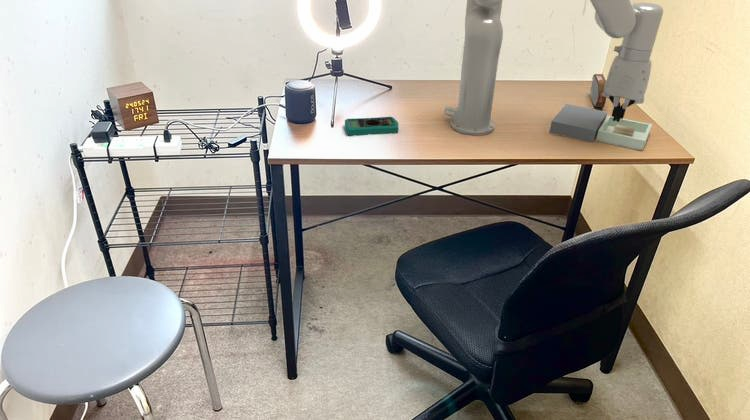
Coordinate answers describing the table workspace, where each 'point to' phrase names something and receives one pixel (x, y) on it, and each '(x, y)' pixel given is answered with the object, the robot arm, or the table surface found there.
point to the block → (624, 130)
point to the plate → (578, 122)
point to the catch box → (633, 142)
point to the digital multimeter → (371, 126)
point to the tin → (598, 90)
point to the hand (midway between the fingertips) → (616, 119)
